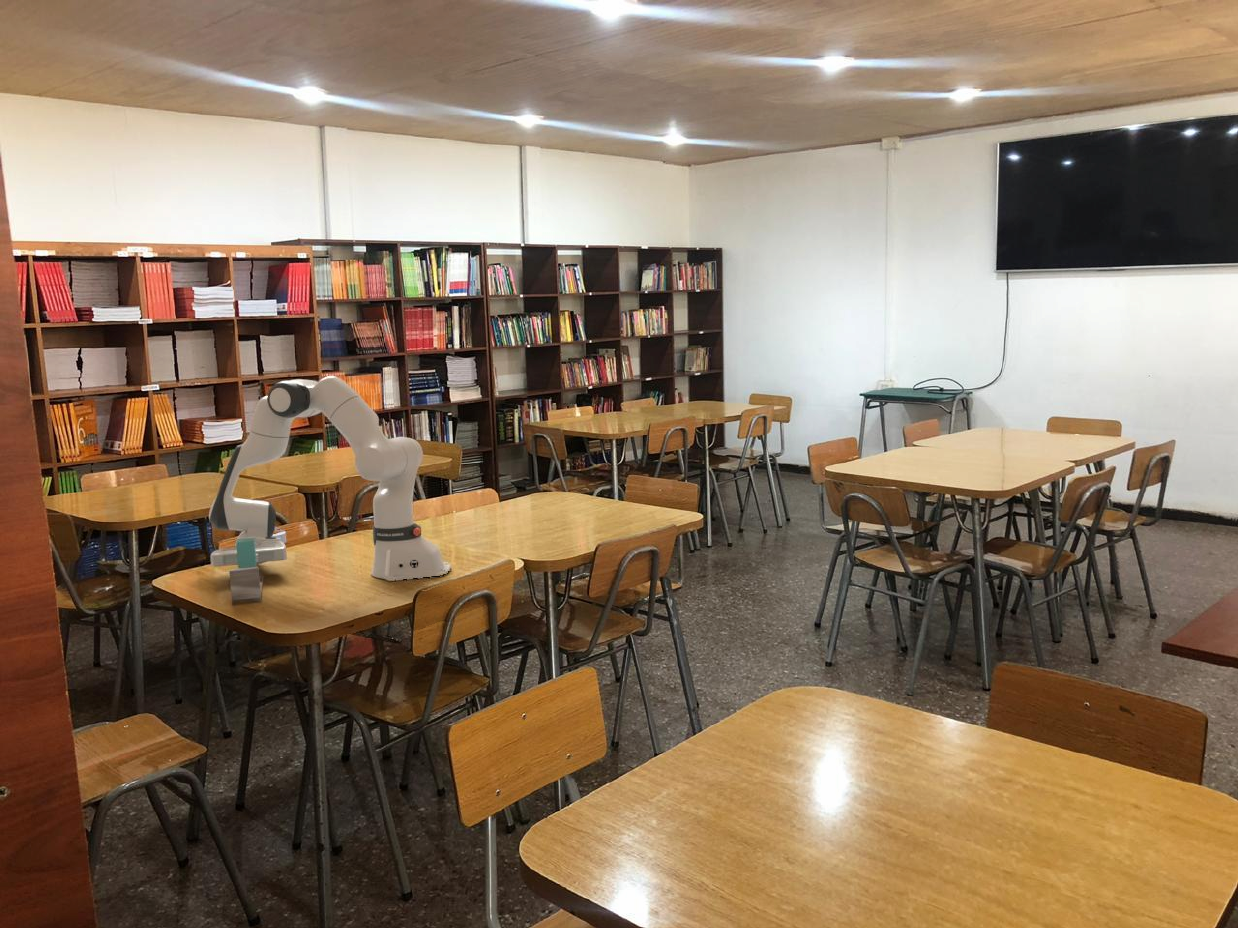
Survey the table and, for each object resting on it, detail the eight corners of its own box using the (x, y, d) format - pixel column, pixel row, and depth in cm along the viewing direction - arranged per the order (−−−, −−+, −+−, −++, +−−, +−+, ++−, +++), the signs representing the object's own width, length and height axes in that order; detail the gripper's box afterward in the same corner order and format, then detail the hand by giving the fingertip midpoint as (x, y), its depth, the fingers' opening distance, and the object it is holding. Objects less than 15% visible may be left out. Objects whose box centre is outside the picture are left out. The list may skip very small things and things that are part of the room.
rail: (237, 580, 269) (235, 549, 268) (263, 577, 272) (261, 547, 270) (232, 604, 245) (229, 571, 244) (260, 601, 247) (258, 568, 246)
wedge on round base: (249, 541, 320) (263, 547, 310) (248, 521, 319) (262, 527, 309) (275, 537, 326) (290, 543, 316) (274, 518, 325) (289, 523, 315)
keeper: (240, 581, 263) (237, 539, 261) (257, 579, 264) (254, 537, 262) (239, 585, 258) (236, 542, 257) (257, 583, 260) (253, 540, 258)
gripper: (210, 543, 272) (206, 554, 259) (285, 536, 278) (285, 546, 265) (212, 564, 273) (208, 576, 260) (287, 557, 279) (287, 568, 266)
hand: (248, 561), depth 263 cm, fingers closed, pressing on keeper
